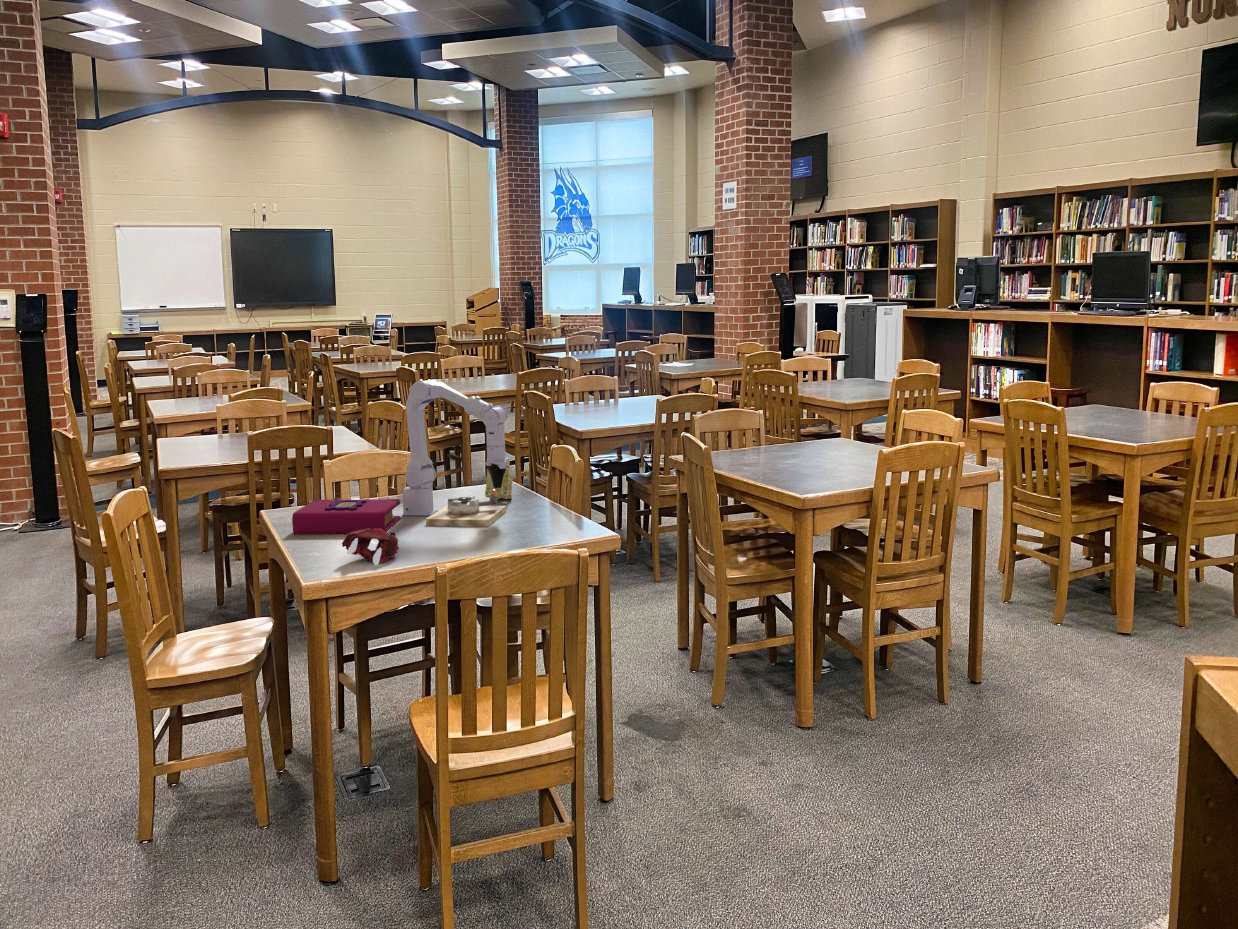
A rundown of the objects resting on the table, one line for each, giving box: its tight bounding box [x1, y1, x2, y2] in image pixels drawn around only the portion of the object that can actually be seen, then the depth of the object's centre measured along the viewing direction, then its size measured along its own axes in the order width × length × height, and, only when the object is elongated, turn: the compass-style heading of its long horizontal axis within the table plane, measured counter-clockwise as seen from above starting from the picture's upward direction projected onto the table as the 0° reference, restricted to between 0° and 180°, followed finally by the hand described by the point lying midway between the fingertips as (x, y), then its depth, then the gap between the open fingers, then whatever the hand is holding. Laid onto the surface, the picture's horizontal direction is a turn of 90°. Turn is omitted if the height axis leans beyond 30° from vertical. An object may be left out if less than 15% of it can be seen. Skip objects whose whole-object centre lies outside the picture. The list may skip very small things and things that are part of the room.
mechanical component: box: [484, 460, 514, 506], centre depth 338 cm, size 8×17×20 cm, turn 175°
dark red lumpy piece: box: [341, 528, 400, 566], centre depth 262 cm, size 15×13×9 cm
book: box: [291, 498, 402, 535], centre depth 302 cm, size 21×28×8 cm
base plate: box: [425, 504, 507, 527], centre depth 312 cm, size 20×21×2 cm
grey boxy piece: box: [447, 489, 498, 515], centre depth 312 cm, size 16×10×6 cm, turn 111°
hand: (497, 487), depth 309 cm, fingers closed
